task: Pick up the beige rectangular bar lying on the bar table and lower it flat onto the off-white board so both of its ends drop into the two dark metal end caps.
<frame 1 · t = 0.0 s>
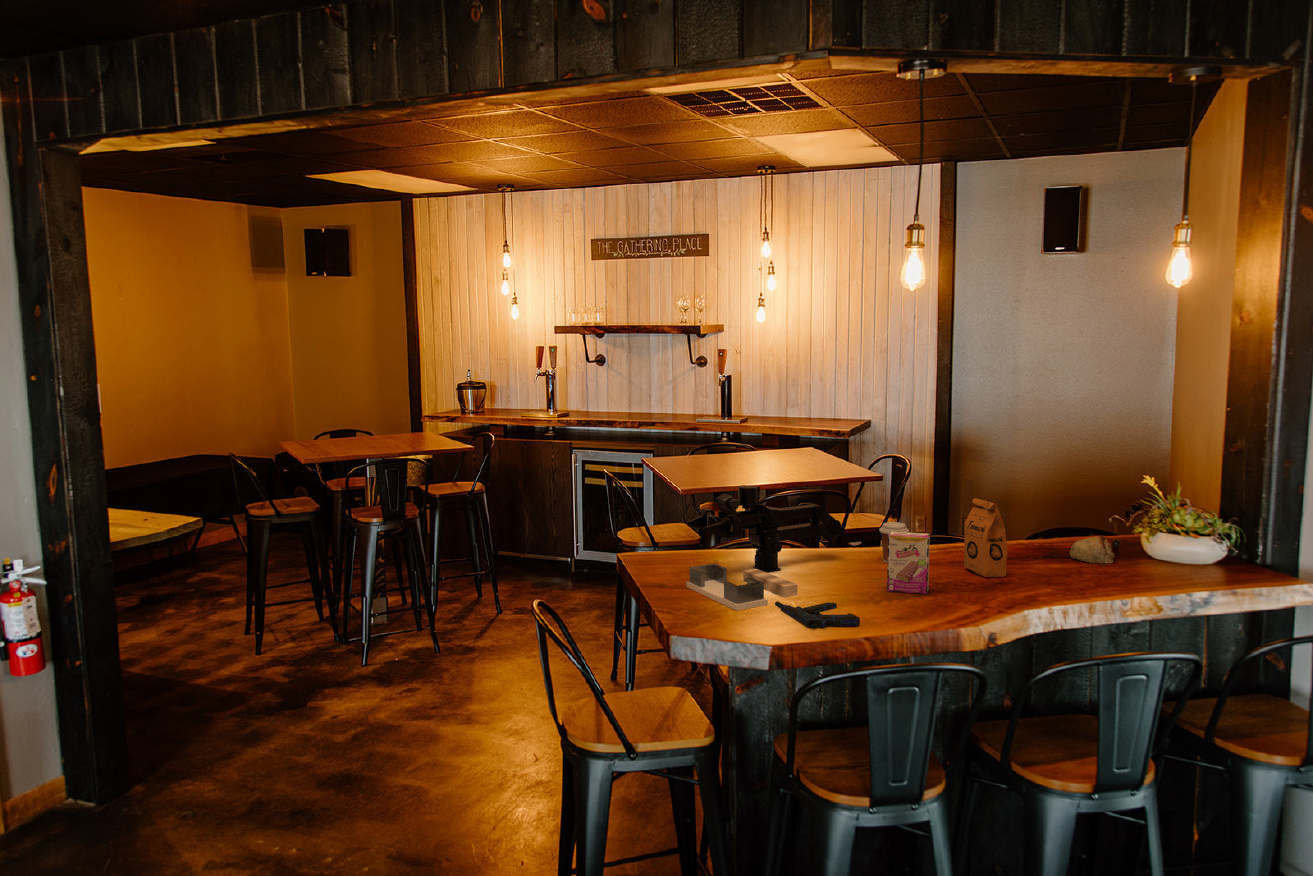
hand: (695, 526, 258), 17 cm above the table, tool horizontal, fingers open, 9 cm apart
coffee package: (985, 573, 263), on the table
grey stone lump: (1092, 560, 277), on the table
gun: (817, 617, 226), on the table
coffee cup: (893, 561, 279), on the table
candy bar box: (907, 591, 246), on the table
end-cap board: (725, 595, 245), on the table
end caps: (725, 582, 244), on the end-cap board, point 4 cm above the table
beige rectangular bar: (769, 589, 252), on the table
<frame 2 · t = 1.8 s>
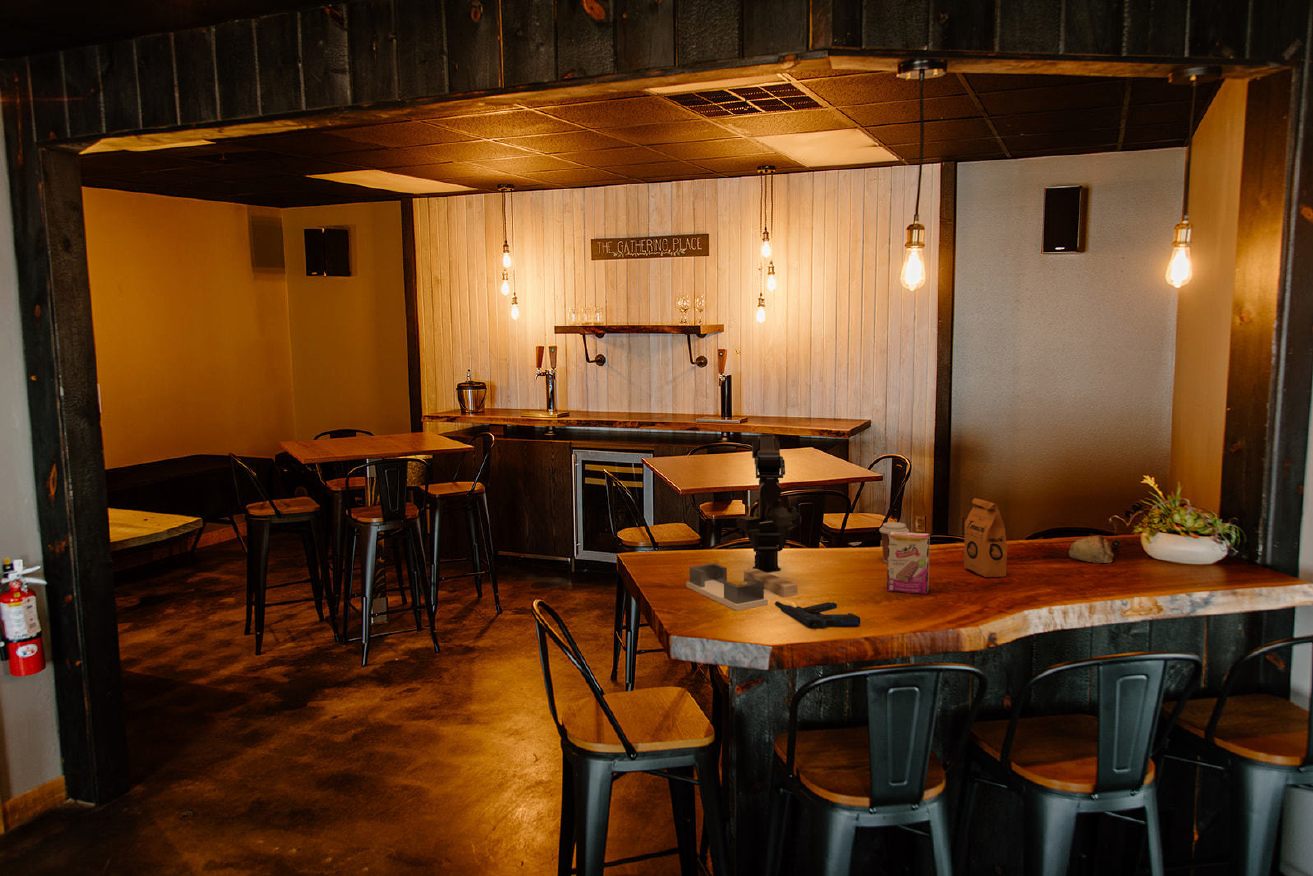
hand: (769, 549, 251), 11 cm above the table, tool pointing down, fingers open, 9 cm apart
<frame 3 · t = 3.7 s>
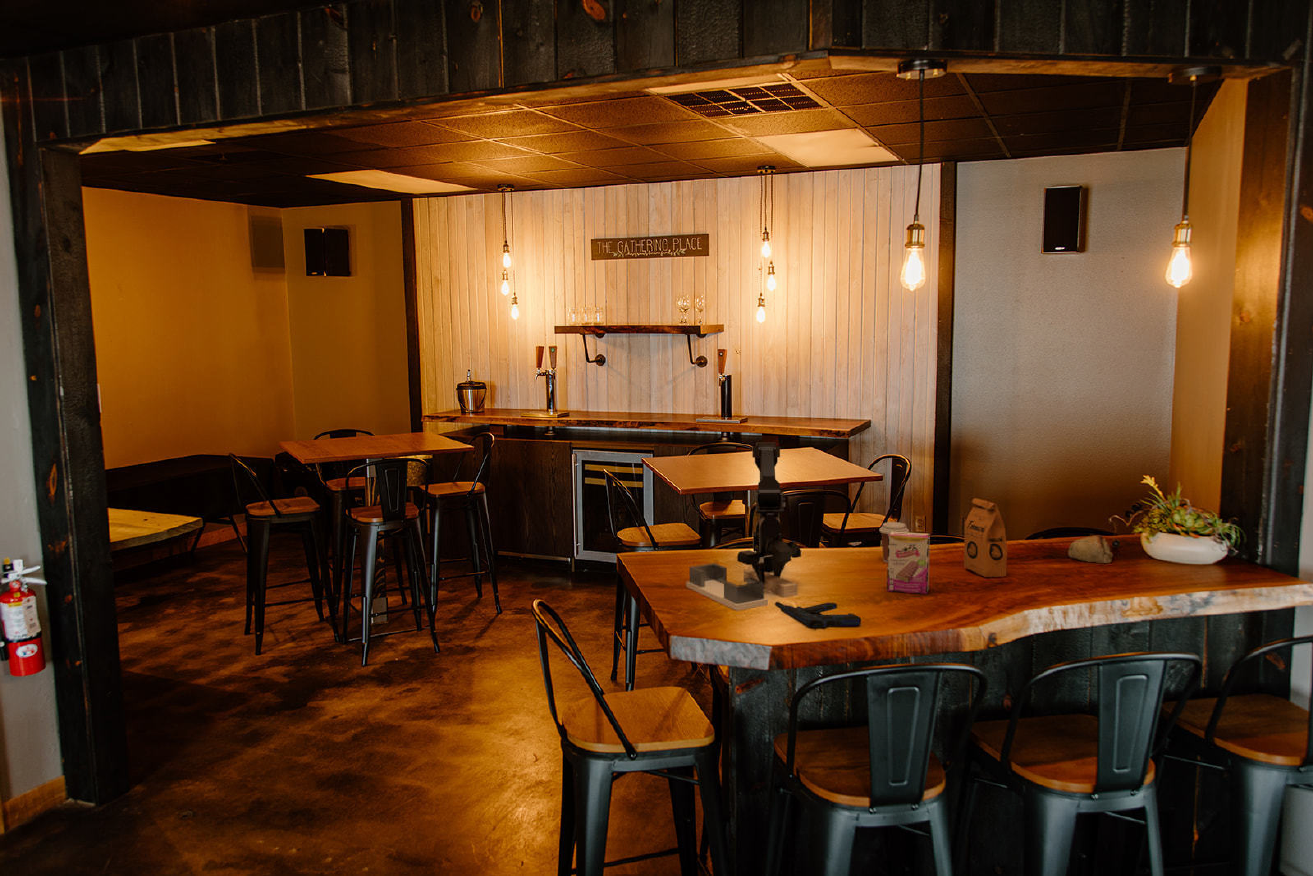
hand: (769, 583, 252), 1 cm above the table, tool pointing down, fingers closed on beige rectangular bar, 4 cm apart
beige rectangular bar: (769, 589, 252), on the table, touching gripper
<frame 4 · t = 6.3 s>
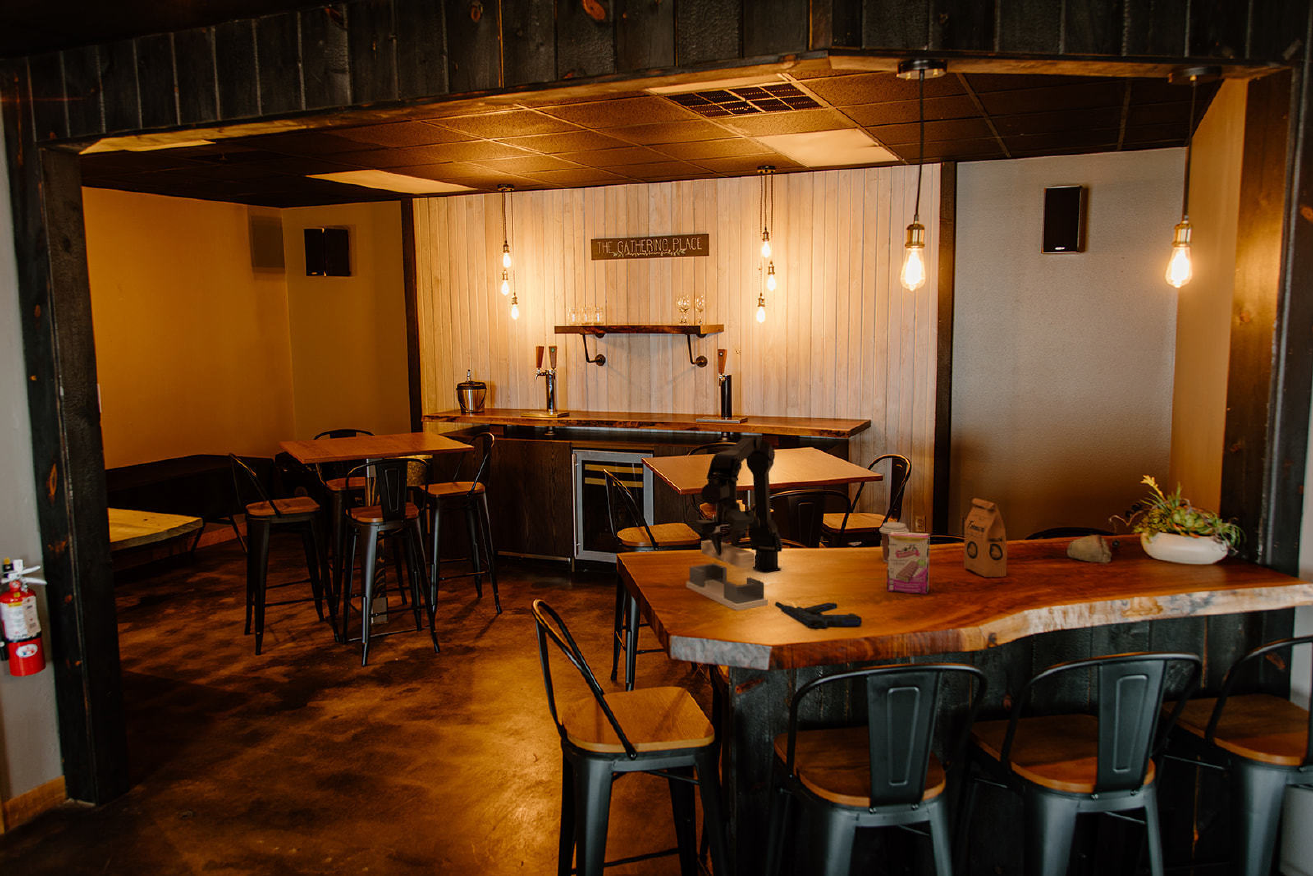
hand: (726, 554, 243), 12 cm above the table, tool pointing down, fingers closed on beige rectangular bar, 4 cm apart
beige rectangular bar: (726, 559, 243), point 10 cm above the table, touching gripper
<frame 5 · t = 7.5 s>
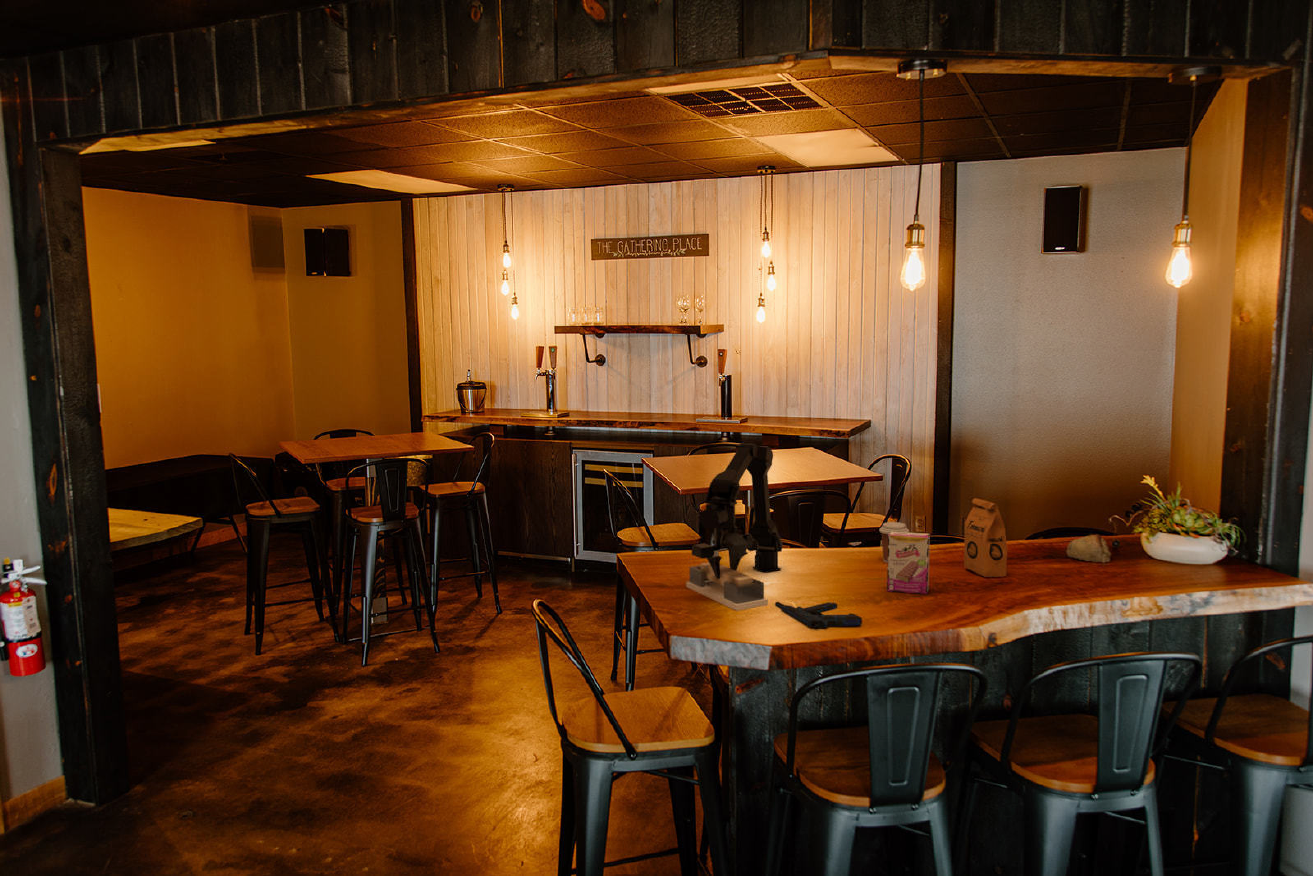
hand: (725, 577, 244), 5 cm above the table, tool pointing down, fingers closed on beige rectangular bar, 4 cm apart
beige rectangular bar: (725, 582, 244), point 4 cm above the table, touching gripper
when the fingers open (4 cm above the table, at t = 8.5 s): beige rectangular bar drops 1 cm, resting on end-cap board.
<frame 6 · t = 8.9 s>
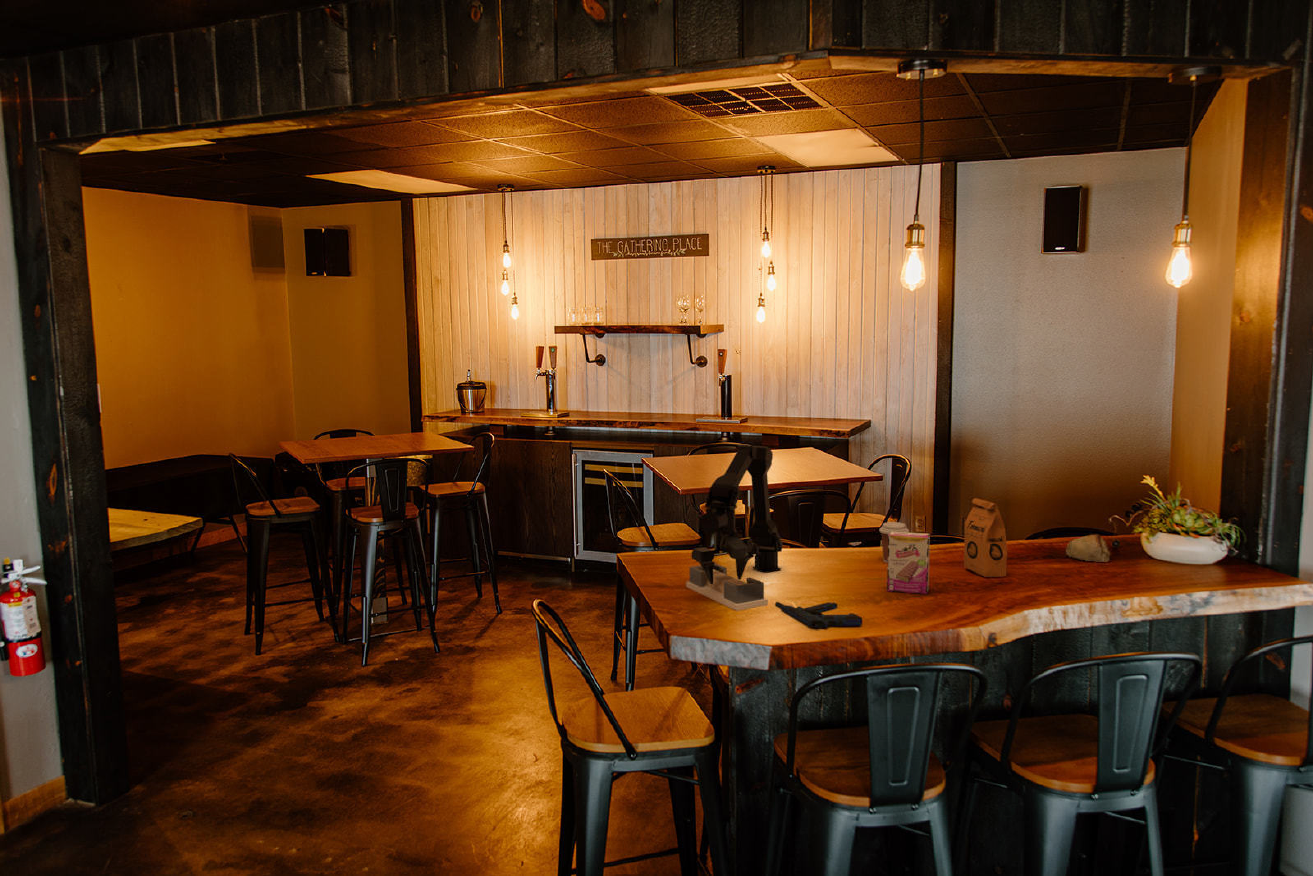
hand: (725, 581, 244), 4 cm above the table, tool pointing down, fingers open, 9 cm apart
beige rectangular bar: (725, 590, 244), point 1 cm above the table, touching end-cap board
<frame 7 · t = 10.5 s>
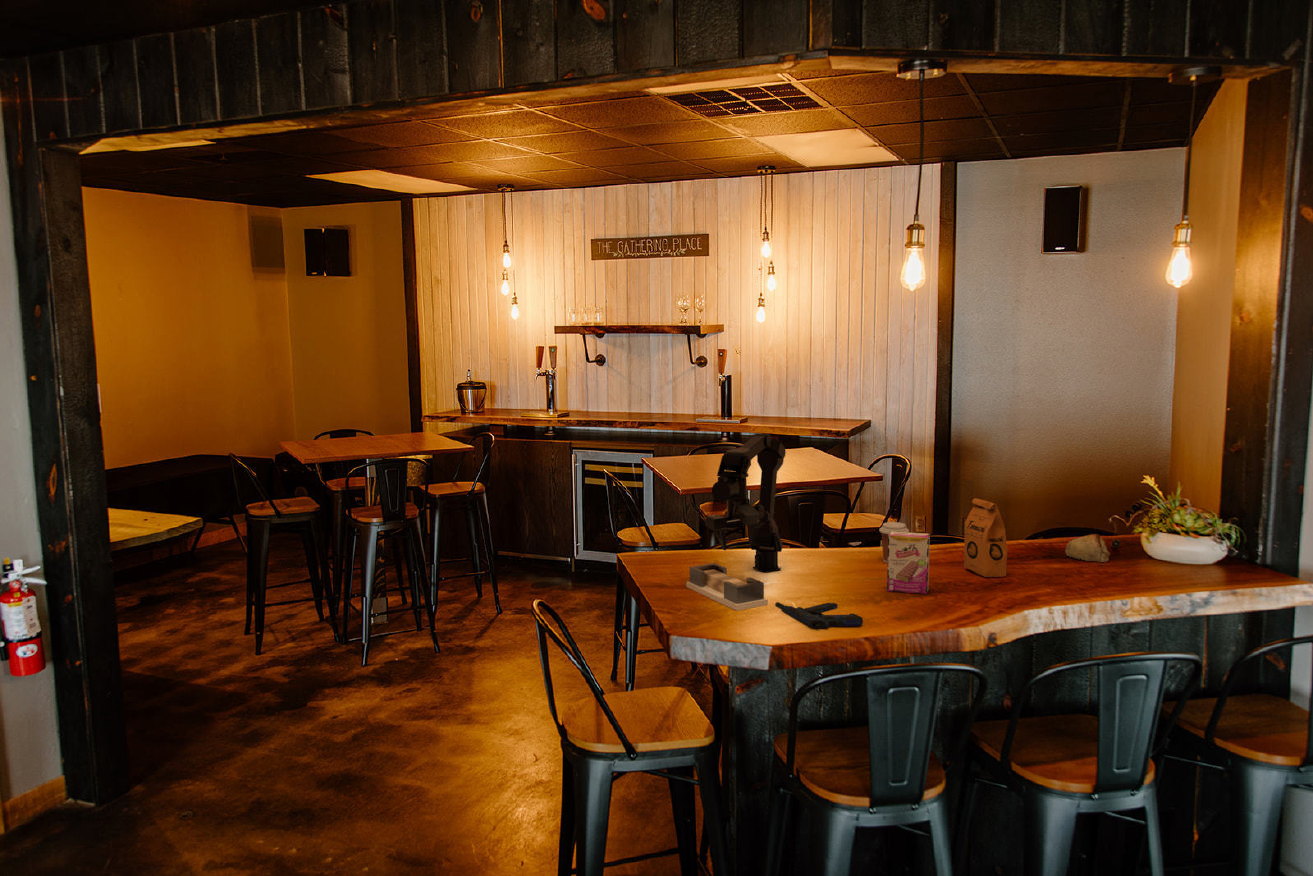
hand: (737, 547, 253), 11 cm above the table, tool pointing down, fingers open, 9 cm apart
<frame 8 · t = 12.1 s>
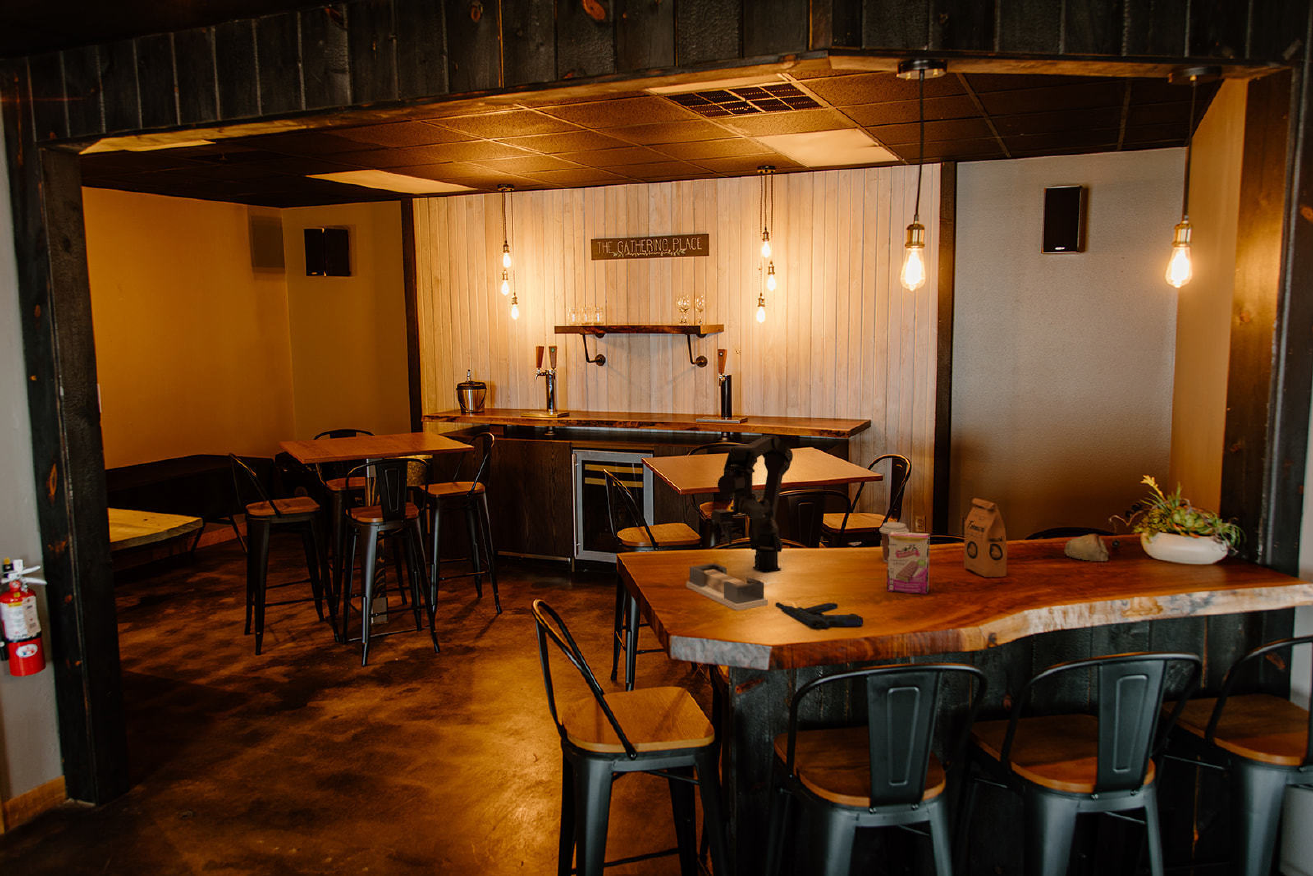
hand: (743, 542, 257), 12 cm above the table, tool pointing down, fingers open, 9 cm apart
at the end: beige rectangular bar 0.1 cm off-centre on the end-cap board, point 1.5 cm above the end-cap board's base; beige rectangular bar tilted 0°; the gripper is holding nothing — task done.
